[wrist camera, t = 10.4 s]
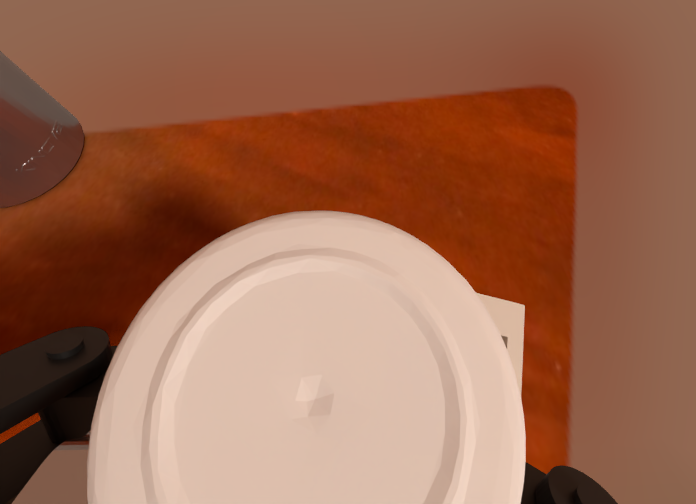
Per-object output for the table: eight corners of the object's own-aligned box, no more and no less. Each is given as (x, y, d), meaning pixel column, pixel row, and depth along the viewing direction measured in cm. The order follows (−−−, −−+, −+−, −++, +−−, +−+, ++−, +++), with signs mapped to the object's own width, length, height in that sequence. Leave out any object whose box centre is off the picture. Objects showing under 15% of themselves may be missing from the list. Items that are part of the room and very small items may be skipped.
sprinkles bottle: (335, 428, 14) (300, 1038, 2) (276, 362, 15) (-39, 416, 3) (393, 358, 15) (631, 388, 3) (334, 302, 16) (315, 135, 4)
